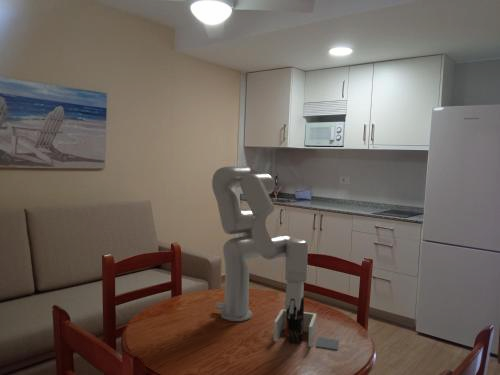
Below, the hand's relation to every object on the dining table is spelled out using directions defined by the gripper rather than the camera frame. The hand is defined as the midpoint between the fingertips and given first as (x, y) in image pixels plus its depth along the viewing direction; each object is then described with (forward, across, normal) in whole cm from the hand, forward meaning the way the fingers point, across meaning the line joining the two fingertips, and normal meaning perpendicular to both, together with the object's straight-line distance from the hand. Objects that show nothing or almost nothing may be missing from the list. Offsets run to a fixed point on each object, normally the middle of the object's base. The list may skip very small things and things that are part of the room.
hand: (294, 325), depth 136 cm
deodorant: (+5, 0, 0) cm, 5 cm away
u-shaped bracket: (+5, -2, 0) cm, 5 cm away
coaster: (+5, 0, +12) cm, 13 cm away
